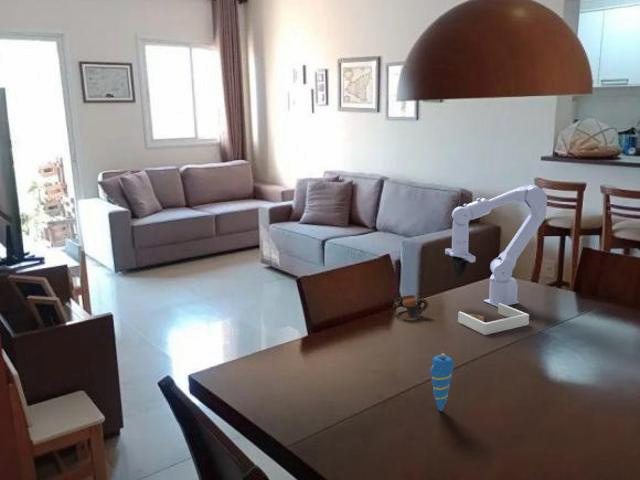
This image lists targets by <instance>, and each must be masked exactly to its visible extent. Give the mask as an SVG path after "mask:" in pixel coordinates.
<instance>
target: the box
mask: <svg viewBox="0 0 640 480" xmlns="http://www.w3.org/2000/svg"><path fill="white" fill-rule="evenodd" d="M457 313H458V314H457V316H458V317H457V322H458V323H460V324H461V325H464V326H465V327H468V328H470V329H472V330H474V331H476V332H478V333H480V334H482V335H484V336H486V335H491V334H495V333H500V332H504V331H507V330H512V329H515V328H516V329H517V328H521V327H524V326H525V327H526V326H528V325H529V323H530V321H529V320H530V314H529V313H526V312H523V311H521V310H518V309H517V308H513V307H512V306H510V305H504V304H502V303H499V304H498V307H497V314H498V315H501V316H503V317H505V318H501V319H496V320H492V321H488V322H485V321H484V322H483V321H480V320H478V319H476V318H474V317H472V316H470V315H467V314H468V313H465V312H462V311H458V312H457Z"/></svg>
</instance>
